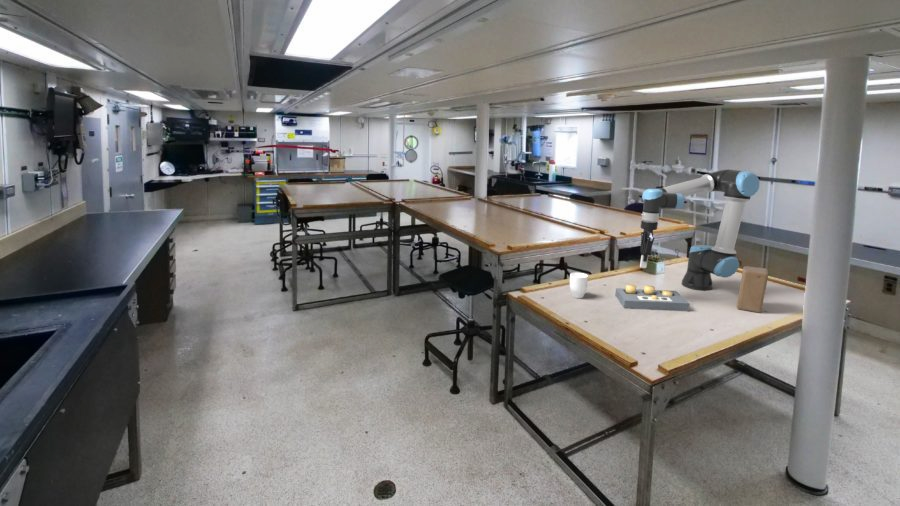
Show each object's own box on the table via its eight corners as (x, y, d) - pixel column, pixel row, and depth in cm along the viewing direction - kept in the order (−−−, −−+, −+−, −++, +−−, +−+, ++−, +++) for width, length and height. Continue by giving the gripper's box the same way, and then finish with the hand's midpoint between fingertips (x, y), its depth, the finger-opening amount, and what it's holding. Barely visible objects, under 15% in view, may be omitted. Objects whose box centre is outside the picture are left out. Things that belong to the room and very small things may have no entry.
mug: (589, 299, 237) (590, 276, 234) (573, 300, 236) (574, 278, 233) (579, 291, 248) (580, 270, 245) (564, 292, 247) (565, 271, 244)
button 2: (669, 298, 237) (670, 290, 236) (673, 301, 233) (674, 293, 232) (660, 298, 238) (661, 289, 237) (663, 301, 233) (664, 293, 232)
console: (675, 298, 240) (676, 290, 239) (688, 311, 222) (689, 303, 221) (615, 295, 243) (616, 288, 242) (623, 308, 226) (624, 300, 225)
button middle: (652, 293, 238) (653, 285, 237) (654, 296, 233) (656, 288, 232) (642, 293, 238) (643, 285, 237) (645, 296, 234) (646, 288, 233)
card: (668, 298, 228) (669, 295, 228) (672, 301, 224) (672, 298, 223) (637, 296, 230) (637, 293, 230) (640, 300, 225) (640, 297, 225)
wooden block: (760, 313, 220) (768, 273, 215) (736, 309, 225) (743, 270, 220) (760, 307, 229) (768, 268, 223) (736, 303, 234) (743, 265, 228)
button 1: (633, 292, 239) (634, 284, 238) (636, 296, 234) (637, 287, 233) (624, 292, 239) (625, 284, 238) (626, 295, 235) (627, 287, 234)
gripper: (637, 218, 233) (631, 263, 239) (645, 223, 220) (639, 270, 226) (653, 218, 232) (646, 264, 238) (662, 223, 220) (655, 271, 226)
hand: (643, 267), depth 232 cm, fingers closed
